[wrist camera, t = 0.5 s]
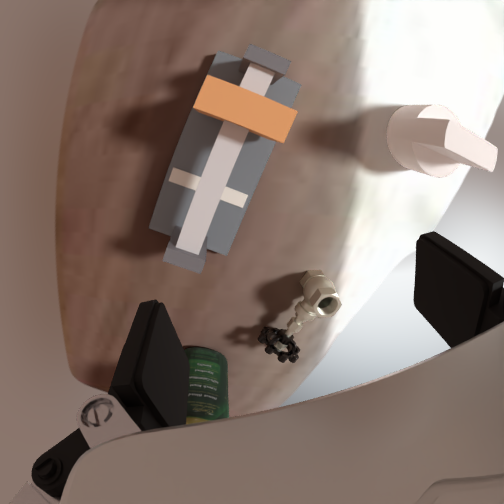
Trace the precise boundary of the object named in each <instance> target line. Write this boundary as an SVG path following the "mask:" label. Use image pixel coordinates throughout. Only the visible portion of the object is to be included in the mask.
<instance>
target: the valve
mask: <svg viewBox="0 0 504 504" xmlns="http://www.w3.org/2000/svg"><path fill="white" fill-rule="evenodd" d="M300 284H301V286H302V288H303V289H304V290H303V295H304V300H303V301H300V302H298V304H297V305H296V306H295V311H296V313H295V315H296V317H292V318H291V319H290V321H289V322H288V323H287V327H288V329H287V330H285V329H280V330H279V329H277V328H275V329H274V330H273V331H272V333H269V331H268V330H269V329H270V328H268V327H264V328H263V330H262V331H261V334H260V336H259V337H258V341H259V342H261V343H265V344H266V345H267V347H266V348H265V352H266V353H268V354H272V353H275V354H276V355H278V360H279V361H280V362H282V363H284V362H285V361H286V360H287V359H289V361H290V362H292V363H295V362H296V360H297V359H298V358H299V356H298V355H297V354H298V353H299V351H300V349H299V347H297V346H296V343H295V342H294V341H293V338H294V337H293V335H292V334H293V333H297V332H299V331H300V329H301V328H302V327H303V326H304V325H303V323H302V322H307V321H313V319H314V318H315V317H316V315H317V317H318V318H327V317H332V316H333V315H334V314H335V313H336V312H337V311H338V310H339V308H340V307H341V305H342V304H341V302H340V300H339V298H338V295H337V293H336V289H335V286H334V284H333V283H332V281H331V280H329V279H328V278H326V277H325V275H324V274H323V272H322V271H321V270H308V271H307V272H306V273H305V275H304V276H303V278H302V279H301V280H300ZM270 338H273V339H272V340H270ZM274 345H275V346H274ZM285 347H286V348H287V349H288V352H283V351H281V350H283V349H285ZM279 349H280V350H279ZM294 355H295V356H294Z"/></svg>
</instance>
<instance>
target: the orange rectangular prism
mask: <svg viewBox="0 0 504 504" xmlns="http://www.w3.org/2000/svg"><path fill="white" fill-rule="evenodd" d="M193 108H194V109H195V110H197V111H198V112H199V113H202V114H205V115H208V116H210V117H213V118H216V119H218V120H221V121H224V120H226V121H228V122H231V123H234V124H236V125H239V126H241V127H244V128H246V129H249V132H252V133H254V134H256V135H259V136H261V137H264V138H266V139H268V140H272V141H276V142H280V143H284V141H285V139H286V137H287V135H288V132H289V130H290V128H291V126H292V123H293V121H294V119H295V117H296V114H297V112H298V111H295V110H293V109H291V108H289V107H287V106H285V105H282V104H280V103H278V102H276V101H273V100H271V99H269V98H266V97H264V96H262V95H259V94H257V93H254V92H252V91H249V90H247V89H244V88H242V87H239V86H237V85H234V84H232V83H229V82H226V81H224V80H221V79H218V78H215V77H212V76H210V75H207V77H206V79H205V81H204V83H203V86H202V88H201V90H200V92H199V95H198V97H197V99H196V102H195V104H194V106H193Z"/></svg>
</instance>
